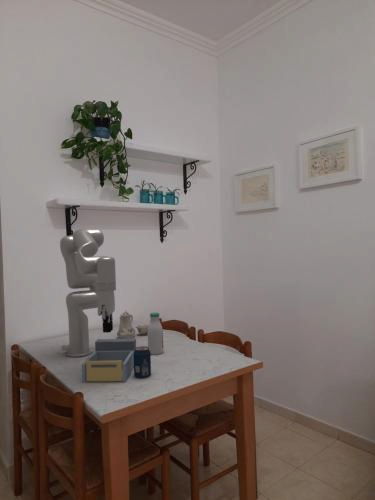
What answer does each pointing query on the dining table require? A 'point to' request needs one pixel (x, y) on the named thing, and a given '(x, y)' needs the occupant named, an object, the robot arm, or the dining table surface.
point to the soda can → (142, 362)
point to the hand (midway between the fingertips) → (107, 331)
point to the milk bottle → (155, 334)
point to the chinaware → (129, 327)
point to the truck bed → (113, 354)
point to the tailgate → (104, 371)
